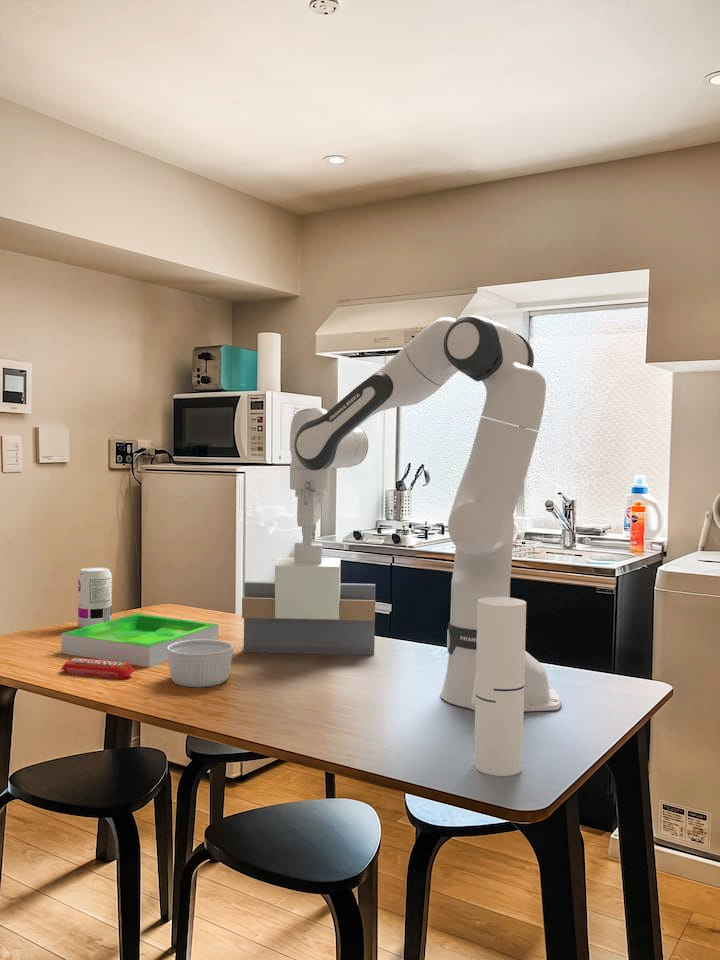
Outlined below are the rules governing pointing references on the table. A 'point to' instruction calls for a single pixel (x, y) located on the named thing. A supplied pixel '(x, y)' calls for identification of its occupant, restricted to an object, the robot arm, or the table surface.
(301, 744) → the table surface
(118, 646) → the tray
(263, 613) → the wall board
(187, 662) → the ramekin
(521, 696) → the cylindrical container
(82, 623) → the supplement can
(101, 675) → the candy bar
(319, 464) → the robot arm
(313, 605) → the off-white handled block
